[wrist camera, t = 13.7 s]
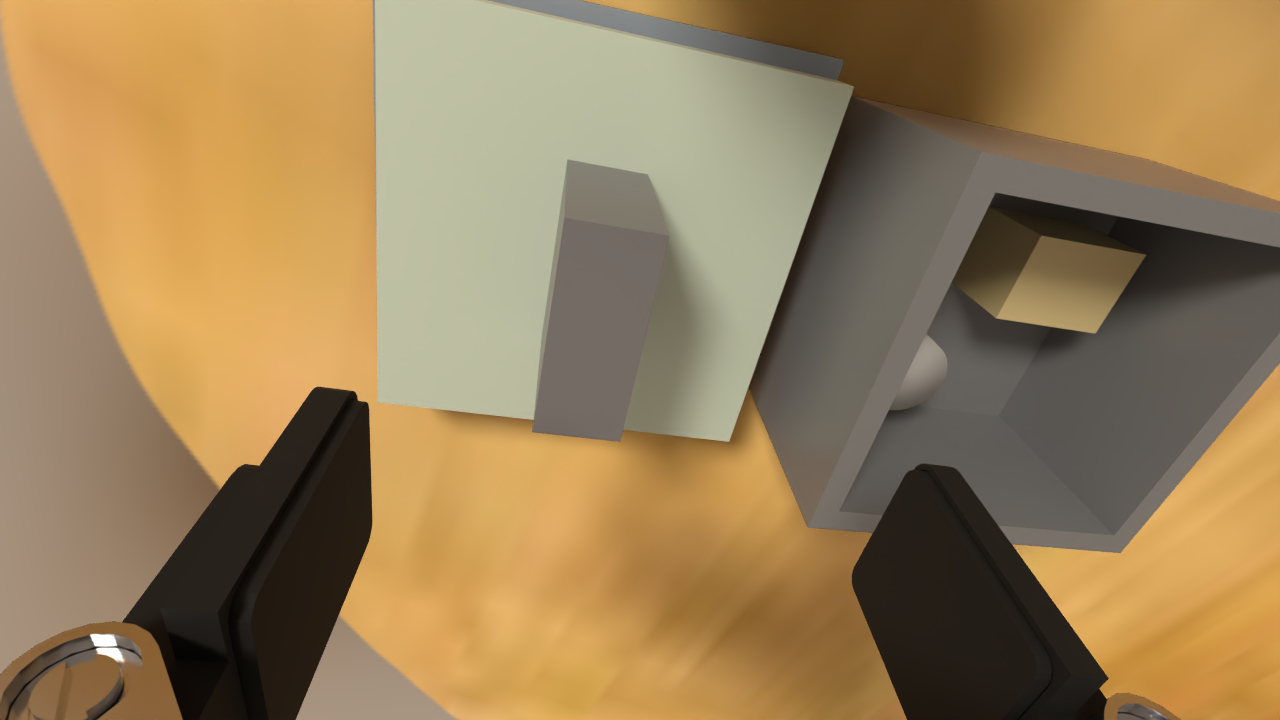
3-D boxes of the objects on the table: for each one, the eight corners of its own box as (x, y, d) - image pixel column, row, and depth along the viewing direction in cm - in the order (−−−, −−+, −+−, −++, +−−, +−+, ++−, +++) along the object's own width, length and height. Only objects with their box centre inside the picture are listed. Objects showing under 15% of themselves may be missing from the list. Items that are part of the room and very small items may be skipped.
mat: (833, 56, 20) (844, 60, 19) (721, 405, 27) (725, 418, 26) (381, -45, 18) (372, -46, 17) (385, 366, 25) (378, 380, 24)
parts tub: (1147, 159, 23) (1386, 235, 16) (993, 418, 29) (1120, 553, 22) (850, 95, 21) (981, 152, 14) (749, 388, 27) (807, 527, 20)
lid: (827, 76, 20) (945, 122, 13) (718, 408, 26) (763, 545, 20) (396, -23, 17) (294, -23, 11) (393, 369, 24) (327, 509, 17)
